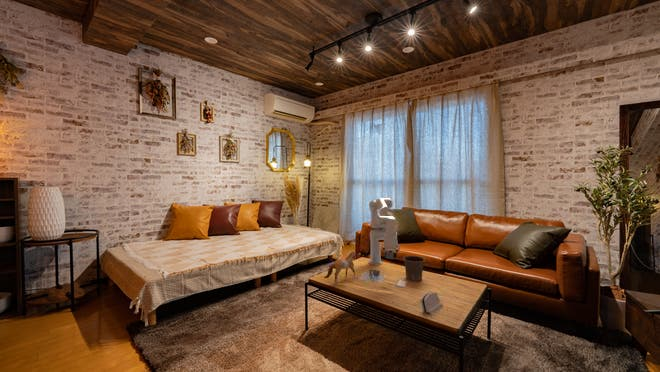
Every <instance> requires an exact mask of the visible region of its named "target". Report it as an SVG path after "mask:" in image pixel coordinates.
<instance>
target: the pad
mask: <svg viewBox="0 0 660 372" xmlns="http://www.w3.org/2000/svg"><path fill="white" fill-rule="evenodd" d="M407 283H408V281H407V280H399V279H398V280H397V281H396V284H395V285H394V287H397V288H398V287H399V288H403V289H405V288H406V286H407Z"/></svg>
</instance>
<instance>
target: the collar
mask: <svg viewBox="0 0 660 372" xmlns="http://www.w3.org/2000/svg"><path fill="white" fill-rule="evenodd" d="M394 253H395V252H394V250H393V249H387V251H386V257H385V259H388V260H395V258H394Z"/></svg>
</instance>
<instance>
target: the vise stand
mask: <svg viewBox="0 0 660 372" xmlns="http://www.w3.org/2000/svg"><path fill="white" fill-rule="evenodd" d="M380 273H381V271H380V270H376V269H369V271H368V272H367V271H364V272H363V273H362V274H361V275H360V276H359V277H358V279H357V280H361V281H366V282H372V283H376V284H377V283H378V284H382V281H383V280H384V279H385V277H386V274H380Z"/></svg>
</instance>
